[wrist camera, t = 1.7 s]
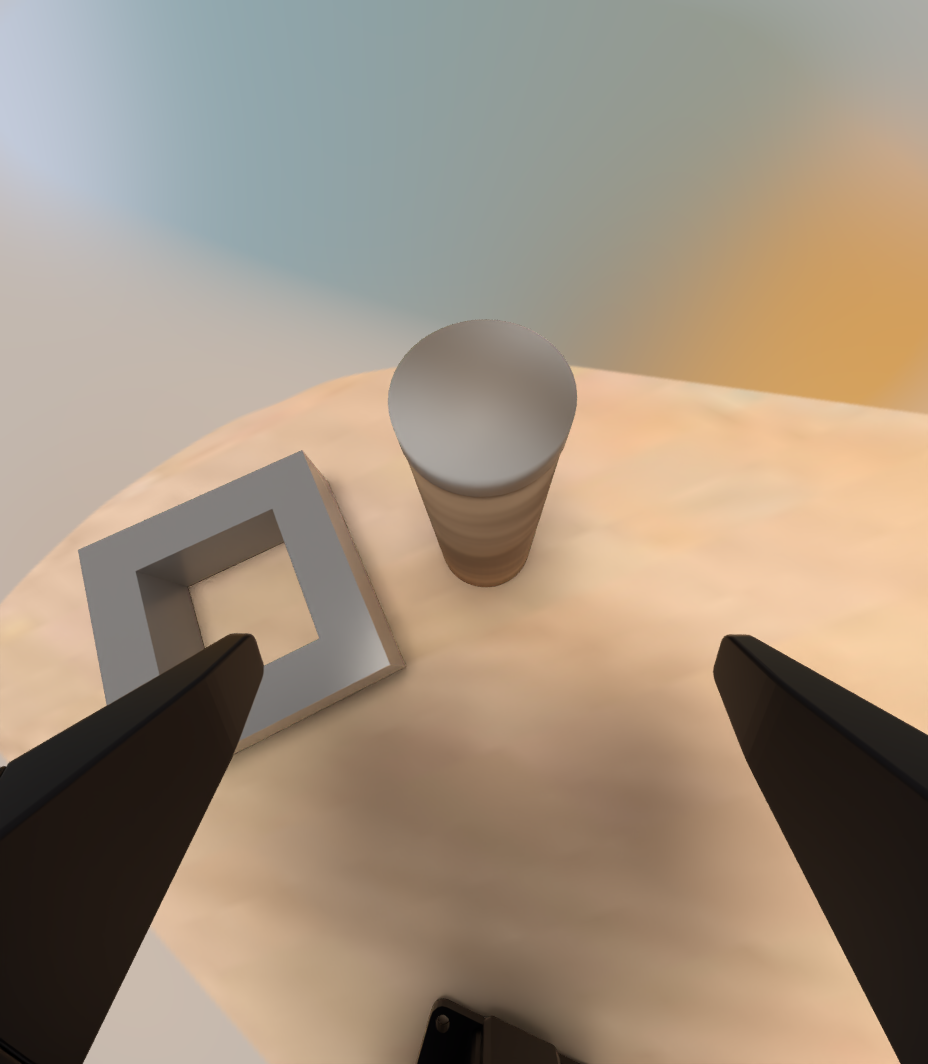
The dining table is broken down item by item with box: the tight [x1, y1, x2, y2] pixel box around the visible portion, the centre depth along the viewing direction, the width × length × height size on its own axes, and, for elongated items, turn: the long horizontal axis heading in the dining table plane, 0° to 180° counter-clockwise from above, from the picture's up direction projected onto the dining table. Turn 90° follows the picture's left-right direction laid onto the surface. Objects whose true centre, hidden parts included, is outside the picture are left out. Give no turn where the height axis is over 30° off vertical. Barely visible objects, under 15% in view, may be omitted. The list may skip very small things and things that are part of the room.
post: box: [388, 319, 577, 587], centre depth 16 cm, size 5×5×12 cm
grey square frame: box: [78, 450, 406, 755], centre depth 20 cm, size 11×11×4 cm
